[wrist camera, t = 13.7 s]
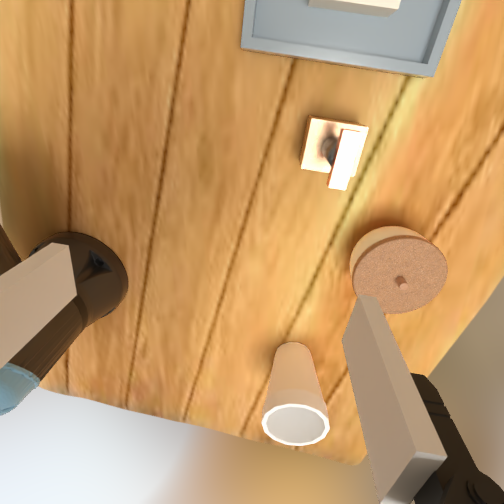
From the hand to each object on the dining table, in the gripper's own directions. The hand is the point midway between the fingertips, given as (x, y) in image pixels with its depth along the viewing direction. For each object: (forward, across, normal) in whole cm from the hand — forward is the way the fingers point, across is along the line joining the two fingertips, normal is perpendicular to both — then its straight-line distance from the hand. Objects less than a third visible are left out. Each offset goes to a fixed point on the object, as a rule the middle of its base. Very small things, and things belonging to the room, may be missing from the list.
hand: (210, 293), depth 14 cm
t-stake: (+29, +8, +4) cm, 30 cm away
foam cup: (+29, +11, -32) cm, 44 cm away
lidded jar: (+29, +19, -9) cm, 36 cm away
